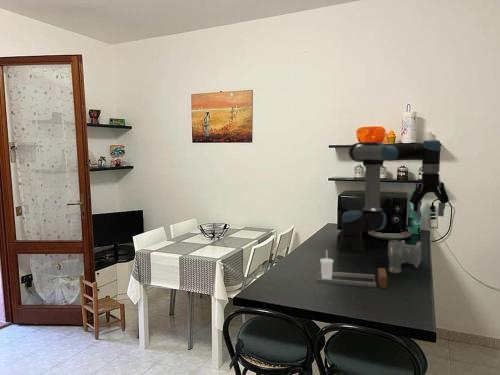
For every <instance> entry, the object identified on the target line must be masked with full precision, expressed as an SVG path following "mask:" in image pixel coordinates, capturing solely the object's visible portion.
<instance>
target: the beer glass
mask: <svg viewBox="0 0 500 375" xmlns="http://www.w3.org/2000/svg"><path fill="white" fill-rule="evenodd" d="M387 241H388V242H387V243H388V244H387V256H388V262H389V264H388V269H387V271H388V272H389V273H391V274H400V273H402V264H401V260H402V255H403V242H401V240H387Z"/></svg>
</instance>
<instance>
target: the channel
mask: <svg viewBox="0 0 500 375" xmlns="http://www.w3.org/2000/svg"><path fill="white" fill-rule="evenodd" d="M377 271H378V272H377V280H378V284H379V288H382V289H384V288H385V289H387V288H388V275H387V270H386V268H385V267H378V269H377ZM318 275H319V276H322V273H321V270H319V272H318ZM333 276H334V277H344V278H345V277H346V278H359V279H360V278H361V279H370V280H373V281H360V280H359V281H357V280H349V279H348V280H347V279H336V278H333V279H323V278H322V277H317V278H316V282H317V283H319V284H320V283H322V284H335V285H344V286H346V285H347V286H360V287H371V288H377V282H376V279H375V278H376V275H375V274H372V273H371V274H370V273H369V274H368V273H358V272H357V273H356V272H355V273H354V272H353V273H352V272H340V271H332V277H333Z"/></svg>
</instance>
